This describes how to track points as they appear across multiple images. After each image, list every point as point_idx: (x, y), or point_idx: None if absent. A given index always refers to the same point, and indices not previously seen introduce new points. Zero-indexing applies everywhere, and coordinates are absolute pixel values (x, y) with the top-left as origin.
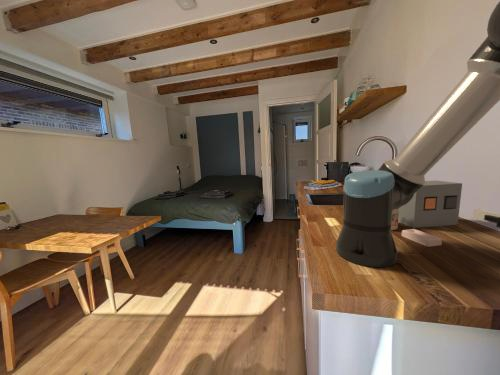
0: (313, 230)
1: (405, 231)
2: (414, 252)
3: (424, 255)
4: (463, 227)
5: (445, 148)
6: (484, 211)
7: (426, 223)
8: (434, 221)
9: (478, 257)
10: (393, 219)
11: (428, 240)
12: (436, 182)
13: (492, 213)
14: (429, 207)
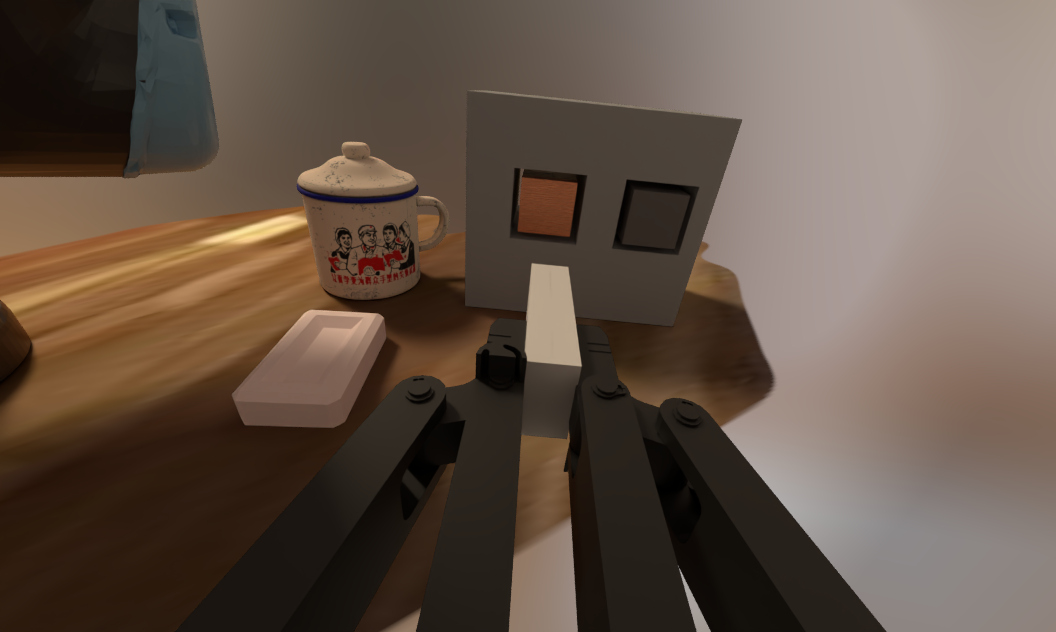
0: (81, 245)
1: (302, 318)
2: (50, 454)
3: (24, 494)
4: (671, 344)
5: None
6: (538, 289)
7: (526, 297)
8: None
9: None
10: (345, 254)
11: (235, 395)
12: (649, 108)
13: (528, 318)
14: (541, 227)
